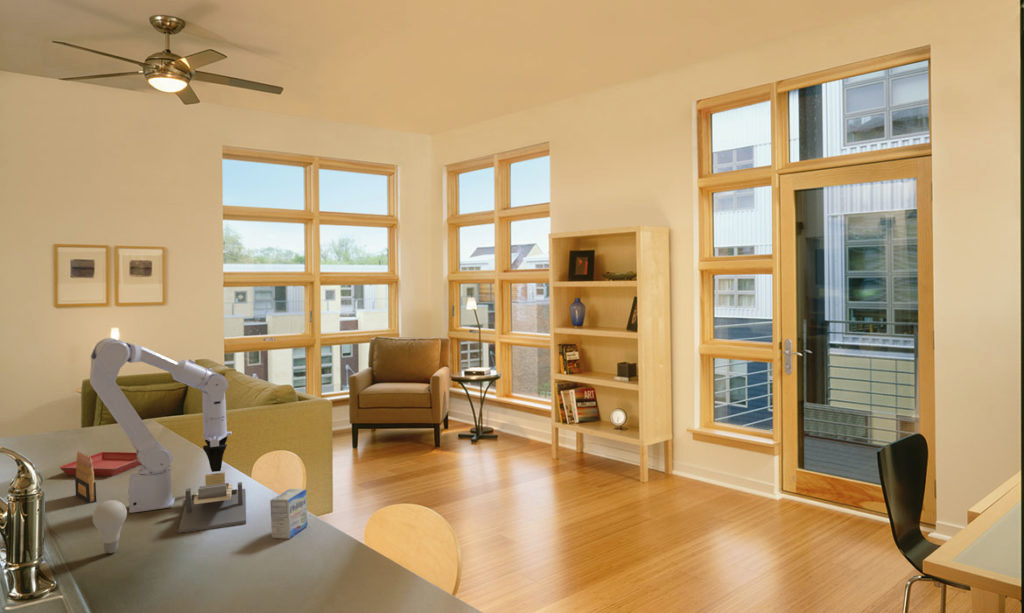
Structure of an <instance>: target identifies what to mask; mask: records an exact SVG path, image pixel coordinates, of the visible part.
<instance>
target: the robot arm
mask: <svg viewBox="0 0 1024 613" xmlns="http://www.w3.org/2000/svg"><path fill="white" fill-rule="evenodd" d="M92 350H93V351H92V352H91V354H90V374H89V383H90V386H91V387H92V388H93V391H95V393H96V394H97V395H98V397H99V398H100V399H101V402H102V403H103V404H104V406H106V409H107V410H108V411H109V412H110V414H111V415H112V417H113V418H114V420H115V421H116V422H117V424H118V425H119V427H120V428H121V430H122V431H123V432H124V434H125V435H126V437H127V438H128V440H129V441H130V442H131V445H132V446H133V448H134V449H135V453H137V459H138V461H139V462H140V463H141V465H140V467H139V469H138V471H137V472H133V473H130V474H129V477H128V507H129V508H128V509H129V511H128V513H138V512H146V511H153V510H160V509H161V510H162V509H169V508H173V506H174V503H175V500H176V496H173V494H172V492H173V491H172V490H173V489H172V488H173V487H172V466H171V464H172V462H173V455H172V452H171V451H170V450H169V448H166V447H164V446H163V445H162V443H160V442H159V441H158V440H157V438H156V437H155V436H154V435H153V434H152V432H151V430H150V429H149V428H148V427H147V425H146V424H145V422H144V421H143V419H142V418H141V417H140V415H139V414H138V412H137V411H136V410H135V407H134V406H133V405H132V404H131V403H130V400H129V399H128V397H127V396H126V395H125V393H124V392H123V391H122V389H121V387H120V386H119V385H118V383H117V382H116V380H117V378H118V375H119V373H120V370H121V369H122V367H123V366H125V365H126V362H128V363H130V364H133V363H141V362H142V363H144V364H147V365H150V366H152V367H156V368H158V369H159V370H163V371H166V372H169V373H170V374H171V376H172V379H173V380H174V381H176V382H179V383H182V384H184V385H186V386H189V387H191V388H194V389H197V390H200V391H201V392H202V393H201V394H202V395H201V396H202V401H201V402H202V404H201V405H202V406H201V407H202V430H203V434H202V438H203V439H204V442H205V443H206V445H203V446H202V449H203V451H204V452H205V454H206V456H207V459H208V462H209V467H210V471H211V473H215V472H221V471H222V467H223V466H222V465H223V458H224V453H225V451H226V448H227V446H228V444H227V443H226V442H227V440H228V438H229V437H228V436H232V435H233V433H232V431H228V428H227V426H228V424H227V423H228V422H227V401H226V391H227V390H228V387H229V382H228V379H227V378H226V377H225V375H223V374H221V373H218V372H215V371H213V369H212V367H211V368H210V367H207V368H206V367H204V366H201V365H199V364H196V361H195V360H193V359H188V360H187V359H181V360H178V361H176V360H173V359H171V358H169V357H167V356H165V355H162V354H160V353H158V352H157V351H154V350H151V349H149V348H147V347H145V346H143V345H138V344H134V343H130V342H126V341H123V340H119V339H116V338H109V337H108V338H104V339H101V340H100V341H98V342H97V343H96V344H95V345H94V348H93V349H92Z"/></svg>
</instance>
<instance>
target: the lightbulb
mask: <svg viewBox="0 0 1024 613" xmlns="http://www.w3.org/2000/svg"><path fill="white" fill-rule="evenodd" d="M127 515H128V510H127V508H126V506H125V504H124V503H122V501H121V502H120V501H119V500H114V499H111V500H106V501H103V502H101V503H100V504H99V505H98V506H96V507H95V509H94V510H93V513H92V518H91V519H92V522H93V525H94V526H95V527H96V529H97V530H98V532H99V535H100V537H101V541H102V543H103V544H102V545H103V551H104V552H105V553H108V554H109V555H110V554H111V555H112V554H115V552H116V551H117V550H118V549H119V546H120V545H119V540H120V537H121V536H120V535H121V530H122V527H123V525H124V523H125V521H126V519H127Z"/></svg>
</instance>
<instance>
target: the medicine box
mask: <svg viewBox="0 0 1024 613" xmlns="http://www.w3.org/2000/svg"><path fill="white" fill-rule="evenodd" d="M307 498H308V497H307V490H306V489H305V488H288V489H287V490H285V491H284V492H282V493H280V494H279V495H277V496H276V497H274V498H272V499H270V501H269V502H270V504H269V505H270V525H271V526H270V527H271V528H270V529H271V538H273V539H283V540H284V539H285V540H287V539H288V540H290V539H293V537H294V536H296V535H297V534H299V533H300V532H301V531H302V530H304V529H306V527H308V501H307Z"/></svg>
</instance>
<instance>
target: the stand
mask: <svg viewBox="0 0 1024 613" xmlns="http://www.w3.org/2000/svg"><path fill="white" fill-rule="evenodd" d="M191 489H192V488H185V504H184V508H183V513H182V515H181V520H180V523H179V527H178V534H182V533H181V532H186V533H190V532H189V531H193V532H197V531H196V530H200V531H205V530H204V529H207V530H213V529H219V528H218V527H220V528H226V527H225V526H227V527H233V526H232V525H234V526H240V525H246V524H247V502H246V500H247V499H246V496H247V495H246V492H247V491H246V488H243V482H242V481H239V482H237V494H235V495H232V494H231V499H230V500H223V501H215V502H208V503H200V504H194V500H192V494H191V492H192V491H191ZM212 528H213V529H212Z"/></svg>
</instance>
